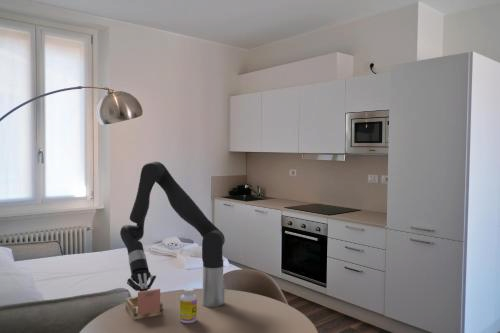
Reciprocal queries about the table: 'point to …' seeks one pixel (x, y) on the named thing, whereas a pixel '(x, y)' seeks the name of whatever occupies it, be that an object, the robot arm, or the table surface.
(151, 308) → the panel
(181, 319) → the supplement bottle
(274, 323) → the table surface
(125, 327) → the table surface
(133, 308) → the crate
